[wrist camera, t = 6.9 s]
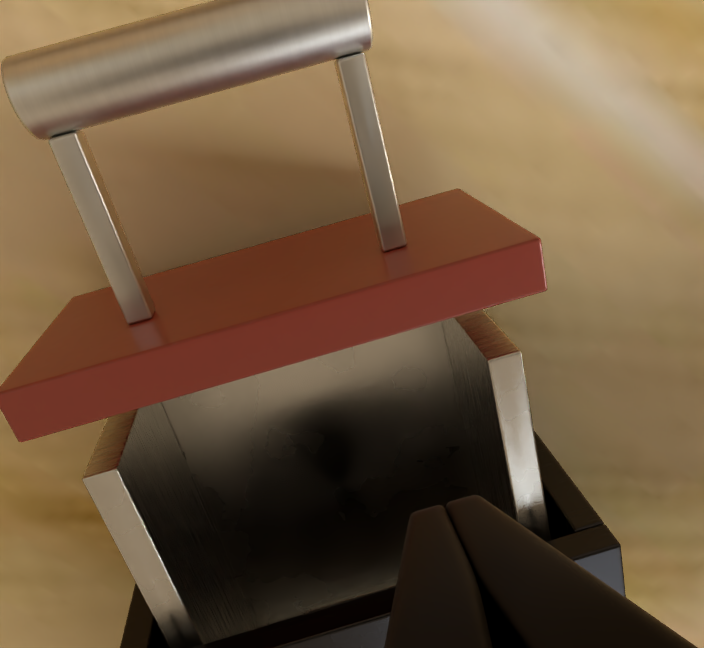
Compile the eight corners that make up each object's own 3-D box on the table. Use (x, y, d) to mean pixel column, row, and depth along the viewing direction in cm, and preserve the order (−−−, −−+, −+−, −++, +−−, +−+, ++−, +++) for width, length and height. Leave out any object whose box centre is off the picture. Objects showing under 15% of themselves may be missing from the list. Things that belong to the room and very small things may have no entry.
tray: (-28, 83, 15) (-179, 91, 10) (418, -39, 16) (497, -91, 10) (226, 629, 23) (216, 798, 18) (523, 540, 23) (600, 679, 18)
